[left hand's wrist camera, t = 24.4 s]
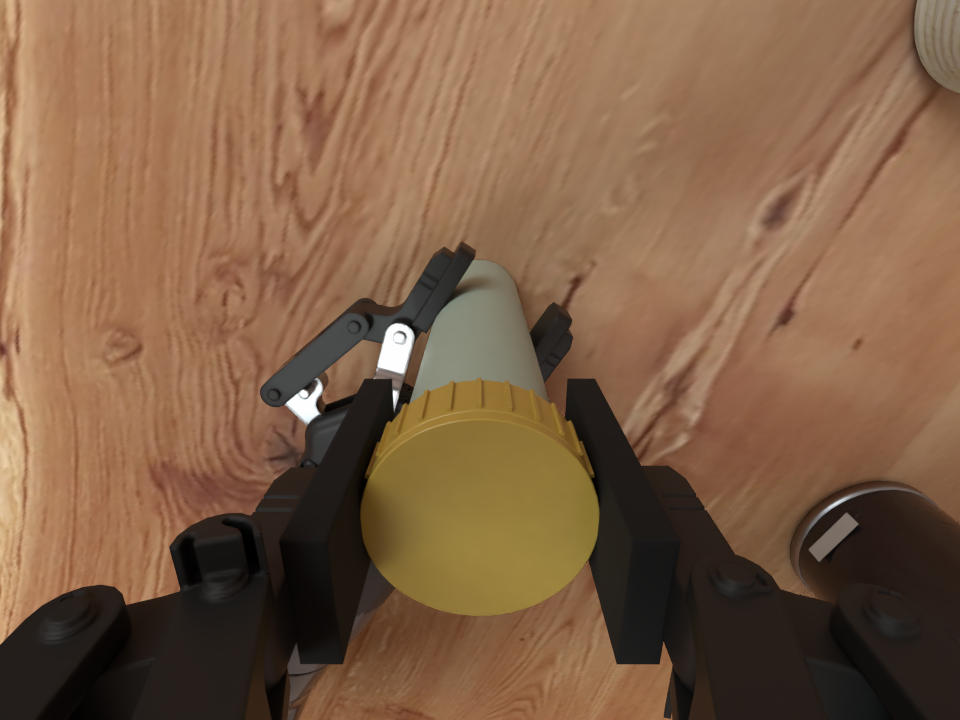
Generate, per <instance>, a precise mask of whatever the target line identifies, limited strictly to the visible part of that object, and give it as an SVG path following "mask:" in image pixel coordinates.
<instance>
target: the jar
mask: <svg viewBox="0 0 960 720" xmlns="http://www.w3.org/2000/svg"><path fill="white" fill-rule="evenodd" d="M477 378H482V380H488V381H497V382H503V383H504V381H505V380H506V381H509V384H511V385H515V386H518V387H521V388H523V389H526V390H528V391H529V390H530V389H532V390H534V391H535V394H536V395H538V396H540V397H541V398H543V399H544V400H546V401H547V402H548V403H550V402H549V398H548V395H547V391H546V388H545V384H544V381H543V378H542V374H541V371H540V367H539V364H538V360H537V357H536V354H535V350H534V347H533V343H532V340H531V336H530V333H529V330H528V326H527V323H526V319H525V316H524V312H523V309H522V306H521V302H520V299H519V295H518V292H517V288H516V285H515V282H514V280H513V278H512V277H511V275H510V274H509V273H508V272H507V271H506V270H505V269H504V268H503V267H502V266H500V265H498V264H496V263H494V262H491V261H487V260H473V261H472V263H471V265H470V266H469V268H468V269H467V271H466V273H465V274H464V276H463V277H462V279H461V280H460V282H459V283H458V285H457V287H456V288H455V290H454V291H453V293H452V294H451V296H450V297H449V299H448V301H447V302H446V304H445V305H444V307H443V308H442V310H441V311H440V313H439V314H438V316H437V317H436V319H435V321H434V322H433V325H432V328H431V332H430V335H429V339H428V342H427V345H426V349H425V352H424V356H423V359H422V362H421V366H420V369H419V373H418V376H417V380H416V383H415V386H414V390H413V393H412V397H411V400H410V403H411V402H413V401H414V400H416V399H417V398H418V397H420V396H421V395H423V393H424V391H425V390H427V389H428V390H429V391H431V390H433V389H436V388H439V387H442V386H445V385H448V384H449V382H450V381H454V382H455V383H457V382H462V381H472V380H477Z"/></svg>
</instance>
